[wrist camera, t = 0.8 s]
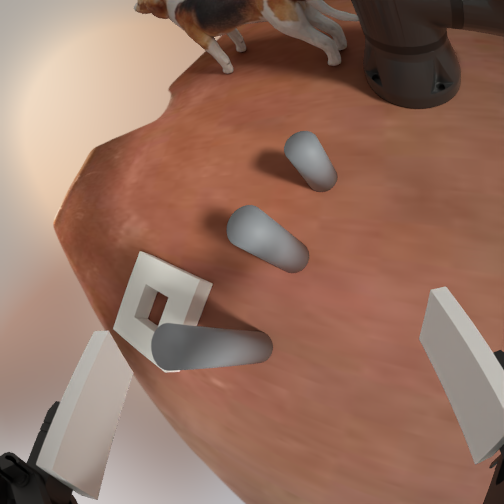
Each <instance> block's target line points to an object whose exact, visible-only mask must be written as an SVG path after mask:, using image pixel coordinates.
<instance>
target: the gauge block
mask: <svg viewBox="0 0 504 504" xmlns="http://www.w3.org/2000/svg"><path fill="white" fill-rule="evenodd" d="M212 285H213V283H210V282H208V281H206V280H204V279H202V278H200V277H197V276H195V275H193V274H191V273H189V272H187V271H185V270H183V269H180V268H178V267H176V266H174V265H172V264H170V263H168V262H166V261H164V260H162V259H159V258H157V257H155V256H153V255H151V254H148V253H145V252H142V251H140V252H139V255H138V258H137V260H136V263H135V266H134V268H133V271H132V274H131V277H130V280H129V282H128V285H127V288H126V291H125V294H124V297H123V300H122V303H121V306H120V309H119V312H118V315H117V318H116V321H115V324H114V328H113V329H114V330H115V331H116V332H117V333H118V334H119V335H121V336H122V337H123V338H124V339H125V340H126V341H127V342H129V343H130V344H131V345H132V346H133V347H135V348H136V349H137V350H138V351H139V352H141V353H142V354H143V355H144V356H145V357H147V358H148V359H149V360H150V361H152V362H153V363H154V364H155V365H157V364H156V362H155V360H154V358H153V355H152V351H151V341H152V337H153V334H154V332H155V331H156V329H157V328H158V327H159V326H160V325H162V324H164V323H173V324H182V325H191V326H197V324H198V321H199V319H200V316H201V313H202V311H203V308H204V306H205V303H206V300H207V298H208V295H209V293H210V290H211V288H212ZM157 292H160V293H162V294H163V295H165V296H167V297H169V298H168V300H167V303H166V306H165V308H164V311H163V314H162V317H161V320H160V322H159V325H158V326H157V325H156V324H154V323H153V322H152V321H150V320H149V319H148V317H149V314H150V312H151V309H152V306H153V303H154V300H155V298H156V295H157ZM157 366H158V365H157ZM158 367H159V366H158ZM159 368H160V367H159ZM160 369H162V368H160ZM162 370H163V371H164V372H180V370H172V371H167V370H164V369H162Z"/></svg>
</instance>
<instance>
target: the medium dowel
mask: <svg viewBox="0 0 504 504" xmlns="http://www.w3.org/2000/svg"><path fill="white" fill-rule="evenodd" d="M227 236H228V239H229V240H230V242H231V243H232V244H234V245H235V246H237V247H239V248H241V249H243V250H245V251H247V252H249V253H251V254H253V255H255V256H257V257H259V258H261V259H263V260H265V261H266V262H268V263H270V264H272V265H274V266H276V267H278V268H280V269H282V270H284V271H286V272H288V273H297V272H299V271H301V270H302V269H304V268H305V266H306V265H307V263H308V260H309V252H308V249H307V247H306V246H305V245H304V244H303V243H301V242H300V241H299V240H298V239H296V238H295V237H294V236H293V235H292V234H290V233H289V232H288V231H287V230H285V229H284V228H283V227H282V226H280V225H279V224H278V223H277V222H275V221H274V220H273V219H272V218H270V217H269V216H268V215H267V214H265V213H264V212H263V211H262V210H260V209H259V208H258V207H256V206H253V205H246V206H243V207H241V208H239V209H237V210H236V211H235V212H234V213H233V214H232V216H231V217H230V219H229V221H228V224H227Z"/></svg>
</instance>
